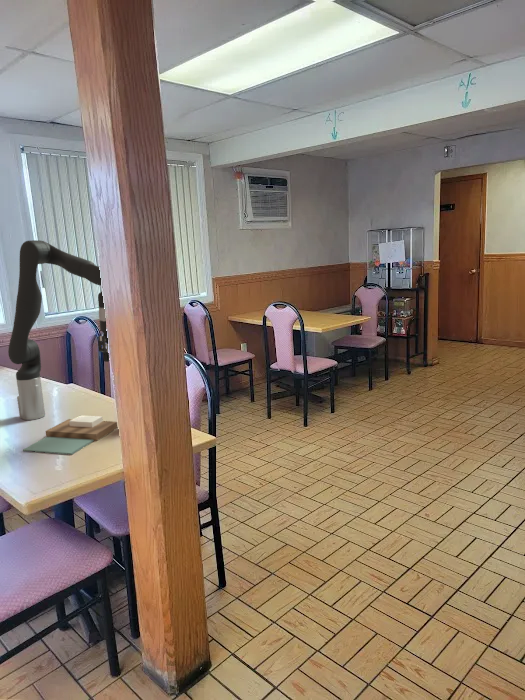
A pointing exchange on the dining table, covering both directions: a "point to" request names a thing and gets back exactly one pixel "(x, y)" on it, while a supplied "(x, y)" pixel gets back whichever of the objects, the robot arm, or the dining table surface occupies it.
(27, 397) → the robot arm
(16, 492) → the dining table surface
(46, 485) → the dining table surface
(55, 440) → the rubber mat
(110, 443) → the dining table surface
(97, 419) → the plastic block
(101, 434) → the board
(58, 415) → the dining table surface
